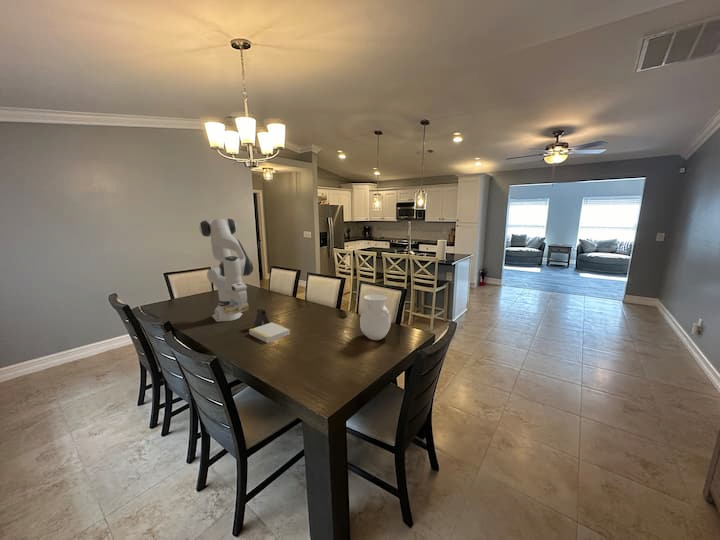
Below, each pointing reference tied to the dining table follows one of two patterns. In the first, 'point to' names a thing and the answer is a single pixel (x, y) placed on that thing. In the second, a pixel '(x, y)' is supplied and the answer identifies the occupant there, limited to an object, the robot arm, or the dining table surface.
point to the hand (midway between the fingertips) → (236, 308)
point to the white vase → (375, 317)
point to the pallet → (235, 309)
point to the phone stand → (261, 318)
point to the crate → (233, 302)
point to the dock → (269, 332)
